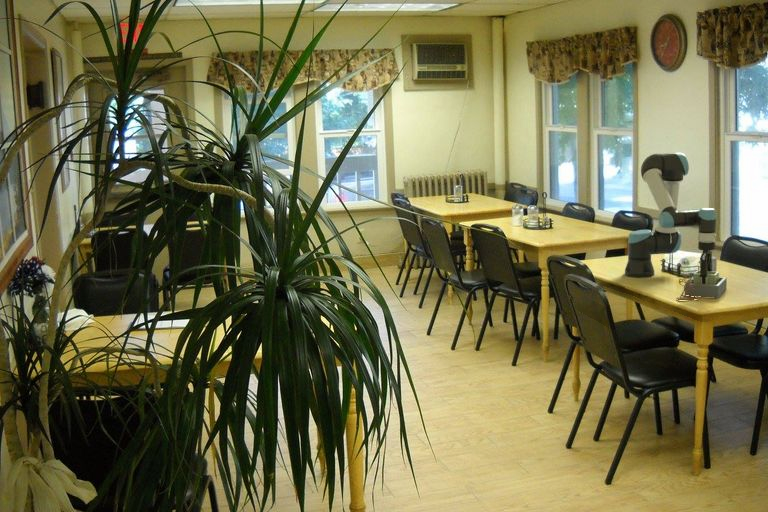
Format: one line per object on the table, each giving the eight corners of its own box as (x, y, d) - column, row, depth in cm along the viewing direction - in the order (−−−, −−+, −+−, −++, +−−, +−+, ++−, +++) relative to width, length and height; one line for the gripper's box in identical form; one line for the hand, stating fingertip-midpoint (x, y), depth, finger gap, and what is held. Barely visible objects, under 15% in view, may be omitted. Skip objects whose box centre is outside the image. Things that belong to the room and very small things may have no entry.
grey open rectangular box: (684, 296, 421) (685, 283, 420) (694, 287, 437) (694, 275, 436) (718, 298, 413) (718, 285, 412) (726, 289, 430) (726, 277, 429)
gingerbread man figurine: (694, 298, 415) (695, 273, 413) (698, 300, 412) (698, 274, 410) (676, 299, 415) (676, 274, 413) (679, 301, 411) (680, 276, 409)
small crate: (693, 290, 424) (693, 273, 423) (696, 286, 431) (697, 270, 429) (715, 291, 419) (715, 275, 418) (718, 288, 426) (718, 271, 424)
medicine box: (714, 272, 469) (714, 256, 467) (716, 274, 465) (716, 258, 463) (698, 273, 470) (699, 257, 468) (700, 275, 465) (701, 258, 464)
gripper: (710, 245, 410) (709, 293, 414) (719, 238, 428) (718, 284, 432) (693, 244, 414) (692, 292, 418) (703, 237, 432) (702, 283, 436)
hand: (705, 288), depth 425 cm, fingers closed on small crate, 8 cm apart
